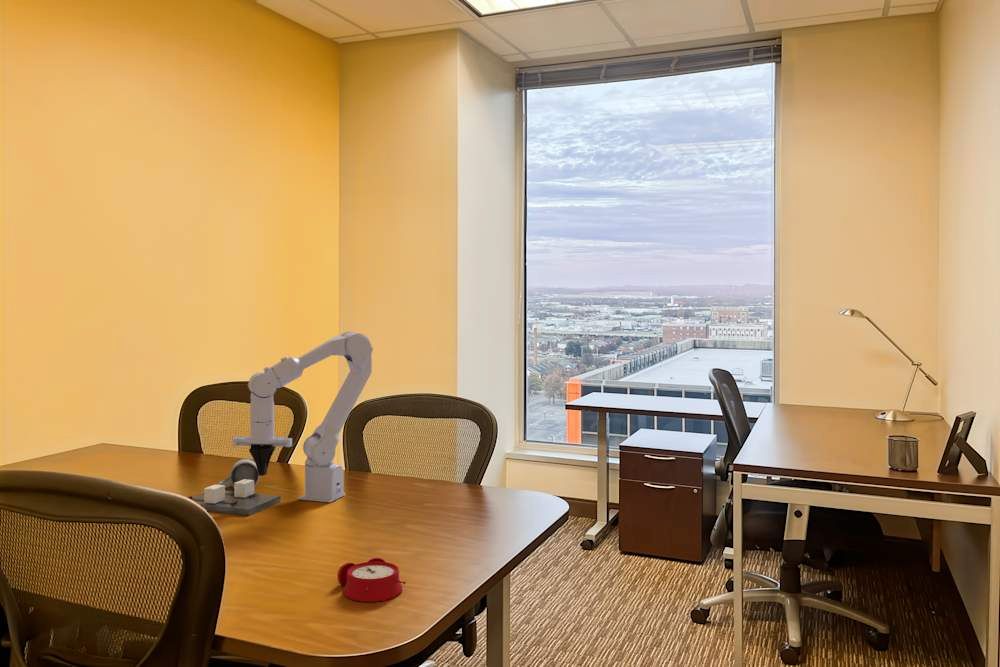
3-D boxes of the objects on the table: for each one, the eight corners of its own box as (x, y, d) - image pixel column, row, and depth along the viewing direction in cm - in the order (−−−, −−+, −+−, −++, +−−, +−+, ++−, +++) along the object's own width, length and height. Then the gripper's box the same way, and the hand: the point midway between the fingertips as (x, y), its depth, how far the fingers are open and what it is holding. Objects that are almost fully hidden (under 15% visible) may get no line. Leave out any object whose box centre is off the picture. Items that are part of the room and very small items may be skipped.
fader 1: (225, 499, 195) (224, 485, 194) (214, 503, 191) (214, 489, 191) (215, 498, 196) (214, 484, 195) (204, 502, 192) (204, 487, 192)
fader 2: (254, 493, 200) (254, 479, 200) (244, 497, 196) (244, 483, 196) (244, 492, 201) (244, 478, 201) (234, 496, 197) (234, 482, 197)
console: (280, 501, 199) (280, 494, 199) (248, 515, 187) (248, 507, 187) (214, 494, 205) (214, 487, 205) (179, 507, 193) (179, 499, 193)
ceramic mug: (259, 482, 219) (258, 455, 218) (260, 489, 211) (259, 461, 211) (218, 486, 215) (217, 458, 215) (218, 493, 208) (217, 464, 207)
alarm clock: (358, 589, 133) (329, 545, 145) (355, 622, 134) (327, 575, 147) (414, 578, 138) (382, 536, 150) (411, 609, 140) (379, 565, 152)
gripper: (296, 418, 200) (296, 471, 200) (240, 417, 200) (240, 470, 201) (286, 423, 193) (287, 478, 193) (228, 422, 193) (229, 476, 194)
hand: (262, 474), depth 197 cm, fingers closed
